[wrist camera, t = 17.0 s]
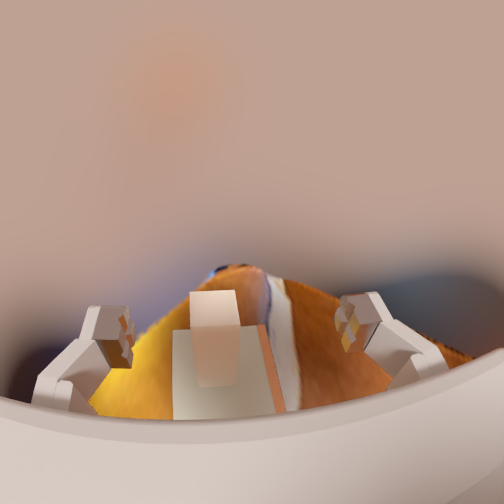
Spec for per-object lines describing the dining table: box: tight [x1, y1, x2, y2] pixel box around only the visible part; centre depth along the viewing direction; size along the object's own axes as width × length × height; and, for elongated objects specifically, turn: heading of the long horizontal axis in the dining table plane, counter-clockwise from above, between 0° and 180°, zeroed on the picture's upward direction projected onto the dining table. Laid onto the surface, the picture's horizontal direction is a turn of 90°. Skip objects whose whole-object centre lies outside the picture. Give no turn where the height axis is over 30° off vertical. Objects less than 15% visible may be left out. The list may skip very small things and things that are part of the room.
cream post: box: [190, 290, 240, 388], centre depth 31 cm, size 4×4×12 cm
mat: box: [172, 324, 286, 420], centre depth 34 cm, size 13×18×1 cm
